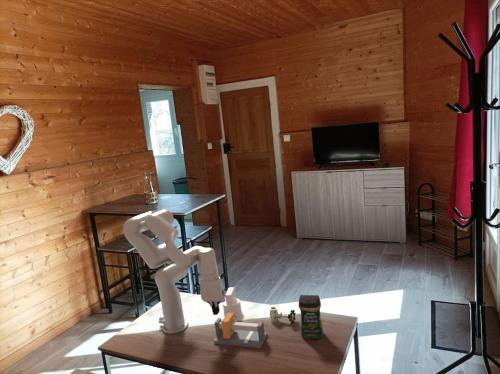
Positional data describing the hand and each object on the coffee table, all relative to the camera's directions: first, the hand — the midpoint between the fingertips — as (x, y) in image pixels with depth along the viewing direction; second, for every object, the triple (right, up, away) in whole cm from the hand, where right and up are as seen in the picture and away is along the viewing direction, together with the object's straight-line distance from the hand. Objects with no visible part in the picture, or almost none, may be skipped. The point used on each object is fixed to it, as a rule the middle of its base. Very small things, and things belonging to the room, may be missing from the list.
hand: (216, 313), depth 171 cm
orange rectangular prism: (+6, -9, 0) cm, 11 cm away
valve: (+31, -7, +9) cm, 33 cm away
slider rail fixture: (+11, -11, -1) cm, 16 cm away
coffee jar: (+43, -8, -5) cm, 44 cm away
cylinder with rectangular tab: (+6, -8, +23) cm, 25 cm away
